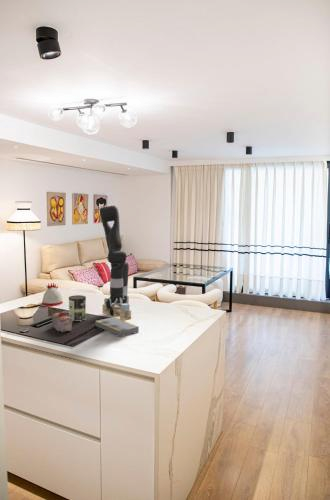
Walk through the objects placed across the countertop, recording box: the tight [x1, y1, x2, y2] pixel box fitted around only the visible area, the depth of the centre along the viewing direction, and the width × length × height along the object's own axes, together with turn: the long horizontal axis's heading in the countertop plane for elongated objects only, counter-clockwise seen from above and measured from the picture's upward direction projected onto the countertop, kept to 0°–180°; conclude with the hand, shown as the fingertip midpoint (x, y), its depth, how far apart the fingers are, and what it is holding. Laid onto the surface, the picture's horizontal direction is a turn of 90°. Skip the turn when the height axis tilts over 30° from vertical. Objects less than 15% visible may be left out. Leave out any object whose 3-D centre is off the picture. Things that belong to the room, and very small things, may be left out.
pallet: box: [102, 303, 132, 321], centre depth 210 cm, size 6×20×5 cm, turn 43°
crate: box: [121, 303, 130, 312], centre depth 204 cm, size 4×4×4 cm
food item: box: [51, 311, 73, 333], centre depth 207 cm, size 14×8×10 cm, turn 44°
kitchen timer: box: [41, 282, 63, 307], centre depth 263 cm, size 14×14×15 cm
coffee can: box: [68, 294, 87, 322], centre depth 227 cm, size 10×10×14 cm
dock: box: [95, 317, 140, 337], centre depth 211 cm, size 13×24×3 cm, turn 43°
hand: (116, 314), depth 210 cm, fingers closed on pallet, 5 cm apart
